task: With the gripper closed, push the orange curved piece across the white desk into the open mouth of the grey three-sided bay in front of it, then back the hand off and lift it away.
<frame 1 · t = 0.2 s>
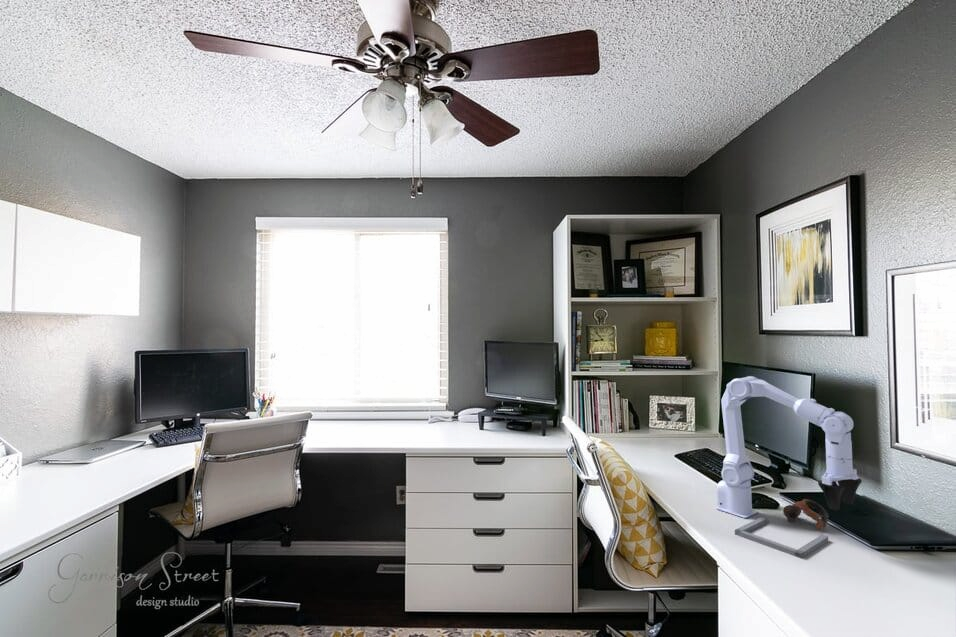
hand: (840, 506, 125), 10 cm above the table, tool pointing down, fingers open, 7 cm apart
orange curved piece: (803, 525, 137), on the table
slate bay: (781, 536, 129), on the table
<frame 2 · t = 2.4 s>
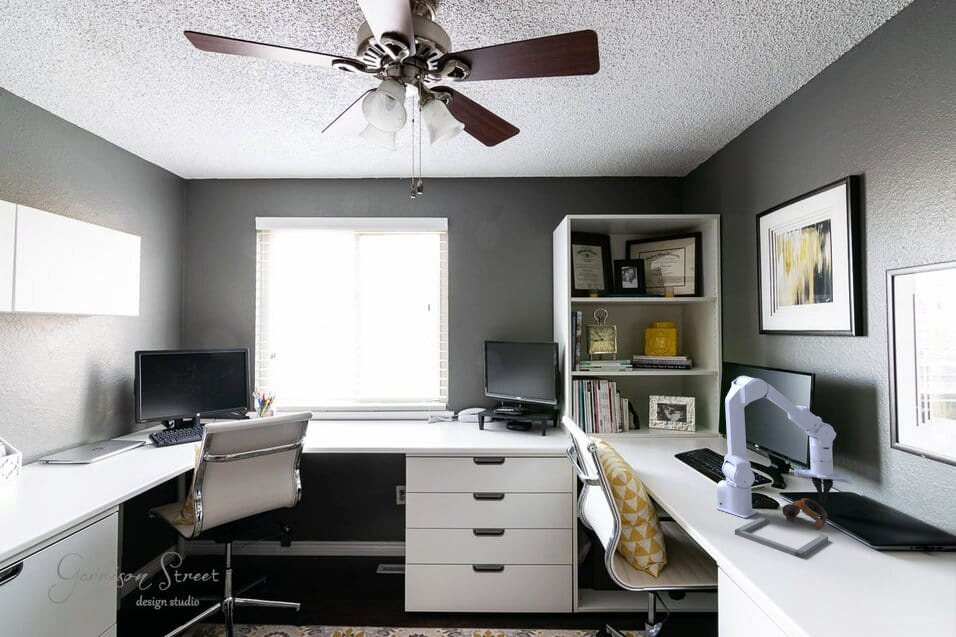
hand: (823, 502, 144), 4 cm above the table, tool pointing down, fingers closed
nothing on the table moved.
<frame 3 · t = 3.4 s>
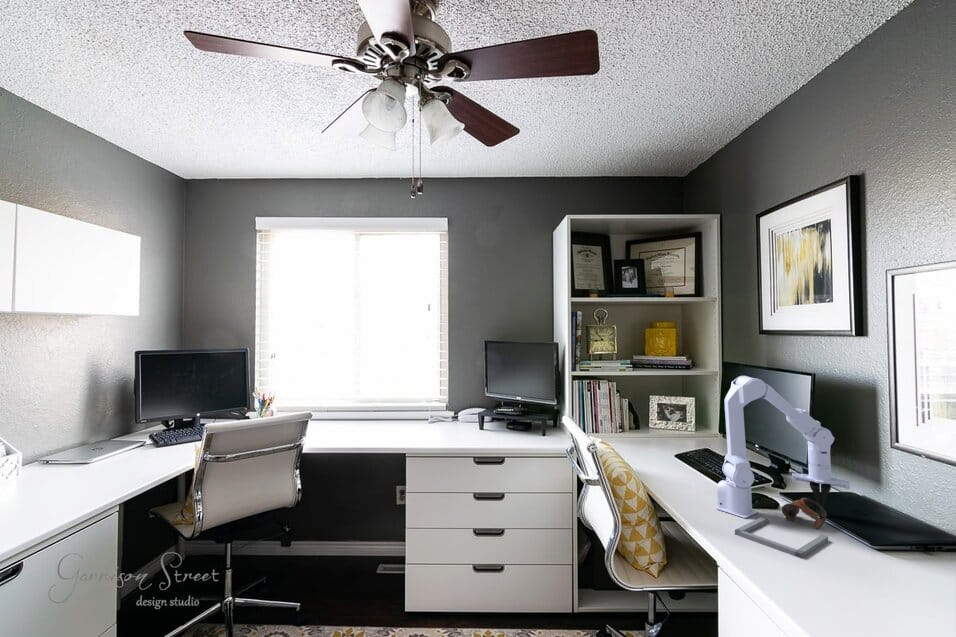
hand: (821, 506, 144), 2 cm above the table, tool pointing down, fingers closed
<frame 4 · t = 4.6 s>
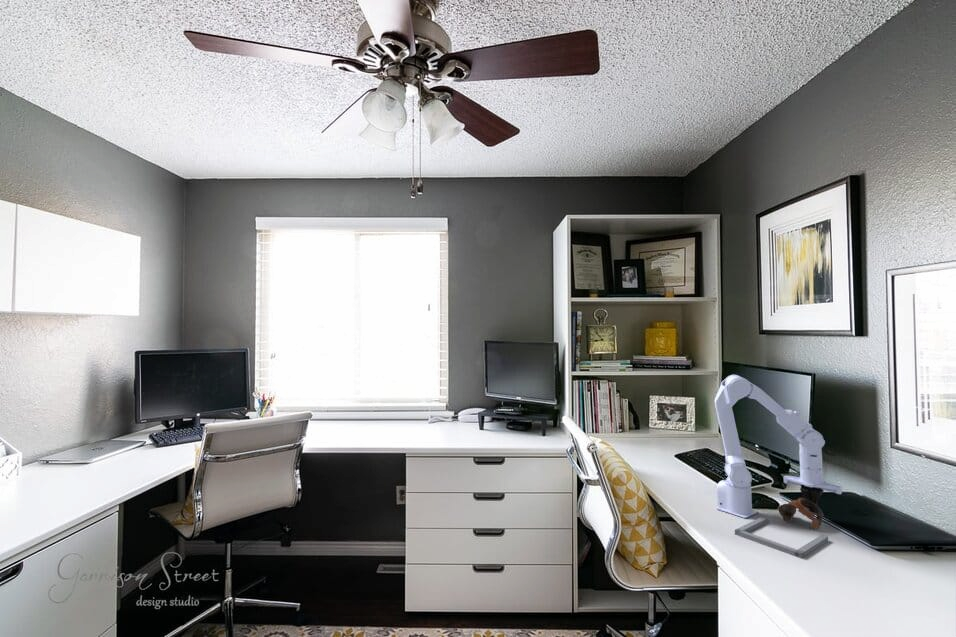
hand: (812, 511, 140), 2 cm above the table, tool pointing down, fingers closed
orange curved piece: (798, 524, 138), on the table, touching gripper
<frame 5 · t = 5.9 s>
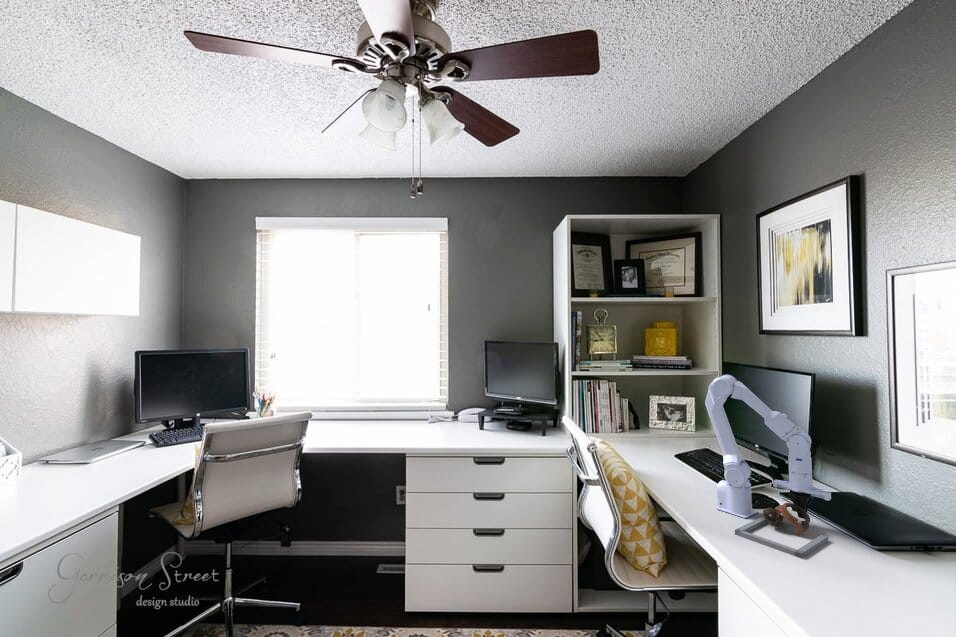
hand: (802, 517, 136), 2 cm above the table, tool pointing down, fingers closed
orange curved piece: (785, 529, 134), on the table, touching gripper
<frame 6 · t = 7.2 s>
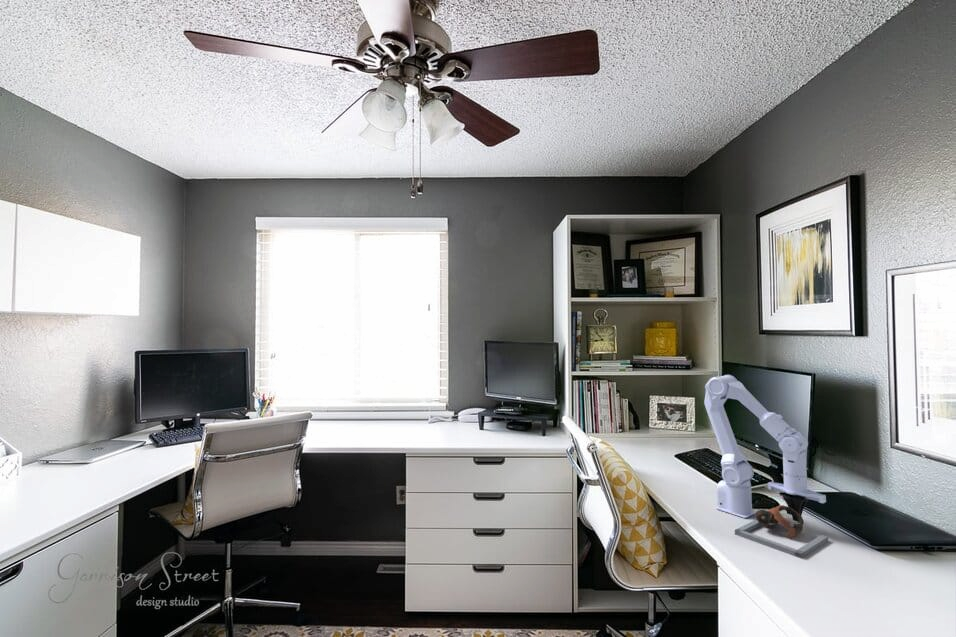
hand: (796, 520, 134), 2 cm above the table, tool pointing down, fingers closed
orange curved piece: (778, 531, 133), on the table, touching gripper
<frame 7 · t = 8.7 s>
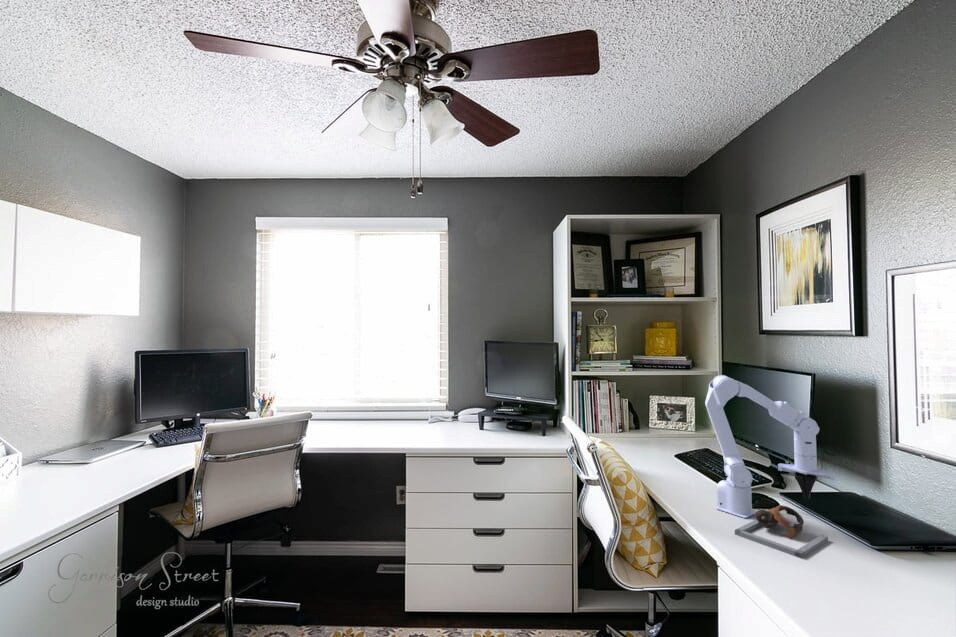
hand: (806, 498, 142), 6 cm above the table, tool pointing down, fingers closed
orange curved piece: (778, 531, 133), on the table
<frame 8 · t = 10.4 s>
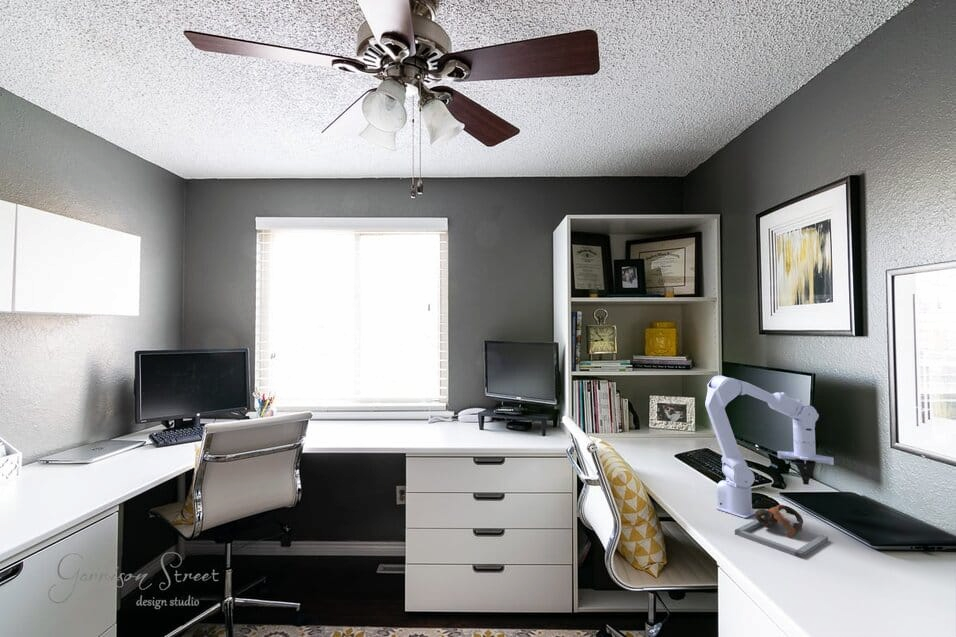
hand: (805, 483, 145), 9 cm above the table, tool pointing down, fingers closed
nothing on the table moved.
at the end: orange curved piece inside the target area (4.7 cm from its centre), on the table; orange curved piece tilted 0°; orange curved piece moved 10.6 cm from its start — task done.
